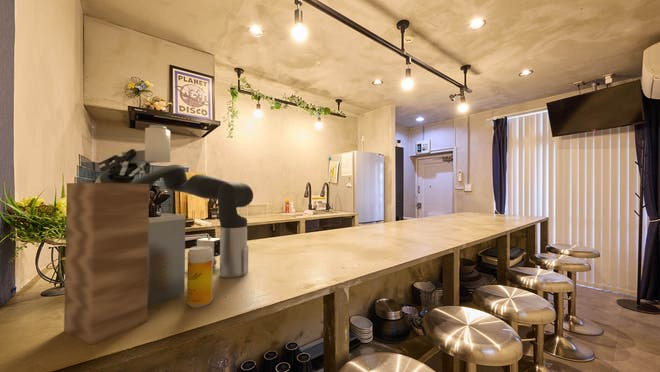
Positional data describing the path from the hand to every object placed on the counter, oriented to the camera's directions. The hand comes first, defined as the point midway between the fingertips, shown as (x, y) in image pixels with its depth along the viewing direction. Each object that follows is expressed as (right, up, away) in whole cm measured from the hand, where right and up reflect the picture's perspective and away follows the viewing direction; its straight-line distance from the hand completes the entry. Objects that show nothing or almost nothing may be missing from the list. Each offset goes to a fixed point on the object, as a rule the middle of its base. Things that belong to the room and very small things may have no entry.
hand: (141, 152), depth 76 cm
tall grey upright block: (+7, -42, -4) cm, 43 cm away
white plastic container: (+2, -3, -1) cm, 4 cm away
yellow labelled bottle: (+22, -42, -8) cm, 48 cm away
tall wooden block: (+7, -42, -19) cm, 46 cm away
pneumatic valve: (+9, -42, +25) cm, 50 cm away
